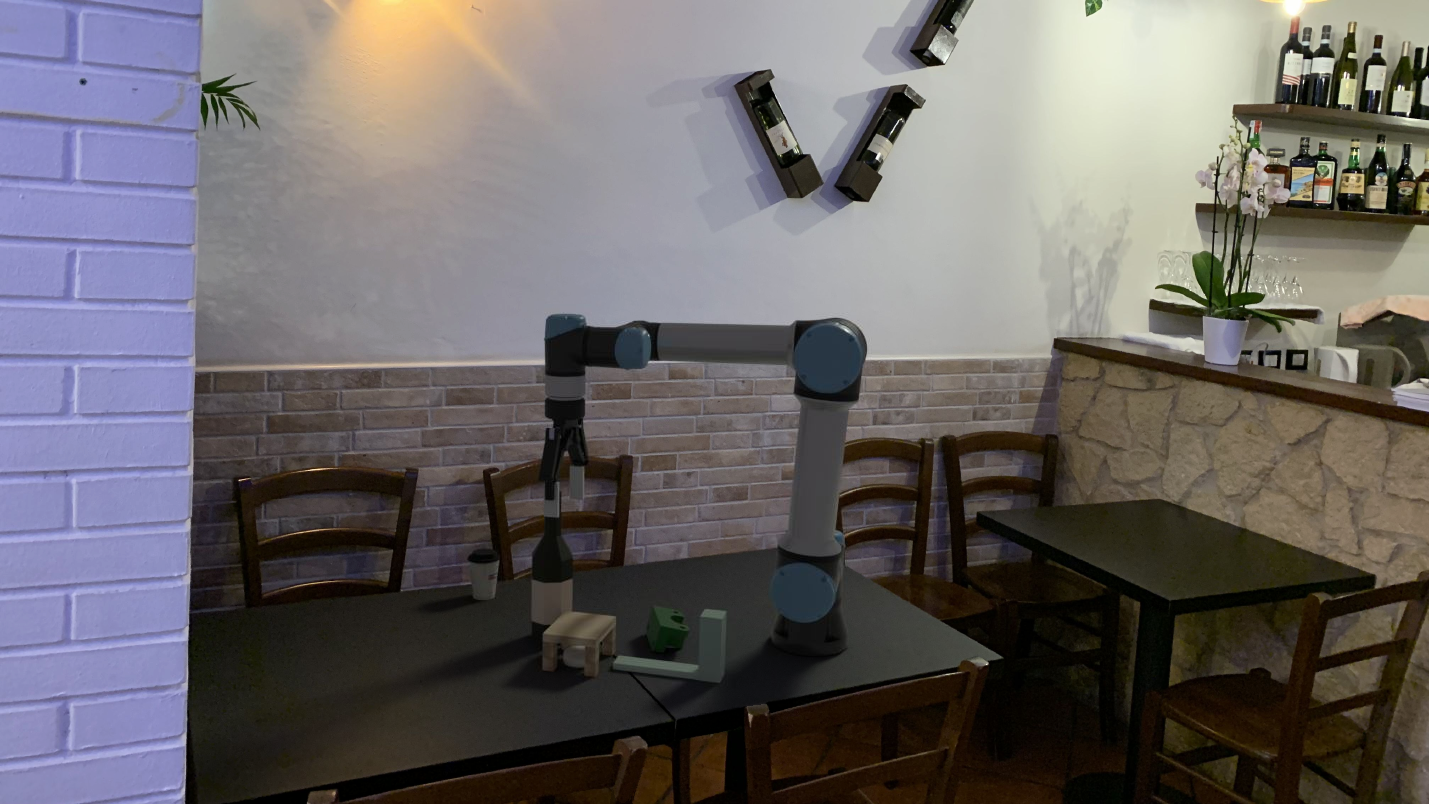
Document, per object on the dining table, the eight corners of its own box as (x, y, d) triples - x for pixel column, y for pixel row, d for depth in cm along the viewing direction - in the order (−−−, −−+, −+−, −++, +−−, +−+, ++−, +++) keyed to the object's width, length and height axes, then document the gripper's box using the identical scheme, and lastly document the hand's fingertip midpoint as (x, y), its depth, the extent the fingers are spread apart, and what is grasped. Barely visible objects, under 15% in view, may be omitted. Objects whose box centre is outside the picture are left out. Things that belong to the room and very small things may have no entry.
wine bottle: (564, 648, 204) (566, 495, 199) (523, 643, 206) (524, 491, 201) (578, 632, 212) (581, 485, 207) (539, 627, 214) (540, 481, 209)
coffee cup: (462, 600, 228) (461, 555, 226) (474, 589, 235) (474, 545, 233) (493, 603, 227) (493, 557, 225) (505, 592, 233) (505, 548, 232)
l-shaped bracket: (724, 674, 195) (726, 611, 193) (719, 682, 191) (722, 618, 189) (619, 661, 199) (620, 599, 197) (612, 669, 195) (613, 606, 193)
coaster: (600, 657, 201) (600, 647, 201) (589, 670, 195) (590, 660, 195) (570, 654, 202) (570, 644, 202) (558, 666, 196) (558, 656, 196)
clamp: (676, 671, 206) (691, 638, 202) (646, 665, 205) (660, 632, 200) (674, 627, 216) (688, 595, 212) (645, 621, 215) (659, 589, 210)
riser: (615, 651, 203) (616, 616, 202) (595, 676, 192) (595, 639, 191) (565, 645, 205) (566, 610, 204) (542, 670, 194) (542, 633, 193)
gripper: (569, 386, 213) (568, 490, 216) (519, 406, 189) (520, 522, 192) (605, 388, 211) (604, 493, 215) (560, 408, 187) (559, 526, 190)
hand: (564, 507), depth 203 cm, fingers open, 13 cm apart
